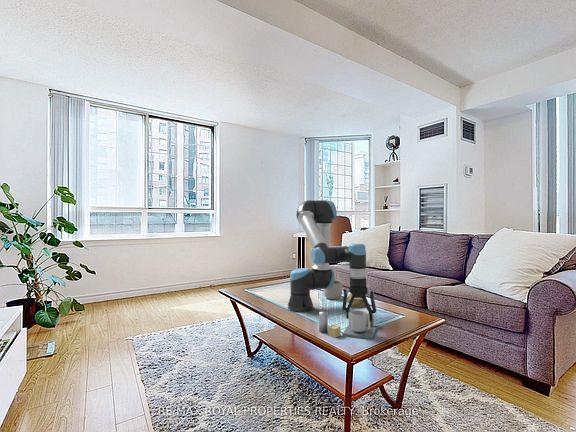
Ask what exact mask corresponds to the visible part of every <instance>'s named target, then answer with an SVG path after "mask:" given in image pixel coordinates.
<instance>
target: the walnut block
mask: <svg viewBox="0 0 576 432" xmlns="http://www.w3.org/2000/svg"><path fill="white" fill-rule="evenodd" d="M372 317H373V319H372V321H370V327H374V324H375V322H374V321H375V318H374V314H372ZM366 327H368V317H367V326H366Z"/></svg>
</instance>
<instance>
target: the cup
mask: <svg viewBox="0 0 576 432" xmlns="http://www.w3.org/2000/svg"><path fill="white" fill-rule="evenodd" d="M349 311H350V321H351V328H352V330H353V331H356V332H364V331H365V330H366V326H367V314H368V311H367V312H366V311H364V310H359V309H355V310H349Z"/></svg>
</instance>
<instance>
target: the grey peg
mask: <svg viewBox="0 0 576 432" xmlns="http://www.w3.org/2000/svg"><path fill="white" fill-rule="evenodd" d="M328 323H329V322H328V311H326V310H319V312H318V327H319V329H318V331H319V333H321V334H328V327H329V326H328Z"/></svg>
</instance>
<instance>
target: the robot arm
mask: <svg viewBox="0 0 576 432" xmlns="http://www.w3.org/2000/svg"><path fill="white" fill-rule="evenodd" d="M337 212H338V211H337V207H336V205H335V203H334V202H333V201H332V200H326V199H325V200H324V199H323V200H320V199H319V200H310V199H309V200H305V201H303V202H301V203H300V205H299V206H298V208H297V210H296V216H295V217H296V219H297V221H298V223H299V224H300V225H301V226H302V228H303V230H304V232H305V235H306V238H307V239H308V242H309V244H310V246H311V248H312V249H311V250H310V259H311V262H312V263H313V265H312V266H311V269H310V268H309V267H304V268H303V267H300V268H295V269H293V270H291V272H290V274H289V281H290V282H289V283H290V284H289V285H290V289H289V291H290V295H289V300H288V304H287V309H288V310H289V309H290V310H289V311H291V310H292V311H291V312H296V311H298V312H299V313H300V312H301V313H302V312H304V311H305V312H309V311H312V310H313V309H314V304H313V301H312V297H311V291H314V290H324V289H327V288H331V287H332V286H333V284H334V280H335V277H336V276H335V271H334V270H333V269H332V266H331V265H330V264H334V263H335V264H336V263H337V264H338V263H348V264H349V288H344V289H342V292H343V299H342V307H341V310H342V311H345V314H346V315H345V318H346V320H348V325H349V327H351V321H350V311H351V309H352V308H351V305H352V303H353V300H354V298H362V299H363V301H364V303H365V305H366V307H365V308H366V310H367V317H368V329H370V321H372V319H373V318H374V316H373V317H372V315H374V314H376V313H377V306H376V302H375V301H376V300H375V297H374V295H375V294H374V293H375V290H373V289H369V288H368V286H367V285H368V283H367V279H368V278H366V277H367V251H366V244H364V243H350V244H349V245H348V246H347V245H343V246H337V247H336V246H335V247H334V246H333V247H330V241H331V240H330V238H331V237H330V236H331V233H330V231H331V225H333V221H334V220H336V219H337V215H338V214H337ZM349 292H350V293H351V294H352V297H351V299H350V302H349V303H348V300H347V299H348V296H349V295H348V294H350V293H349ZM367 293H368V295H369V299H370V303H369V300H368V299H367ZM370 304H371V306H370Z"/></svg>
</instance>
